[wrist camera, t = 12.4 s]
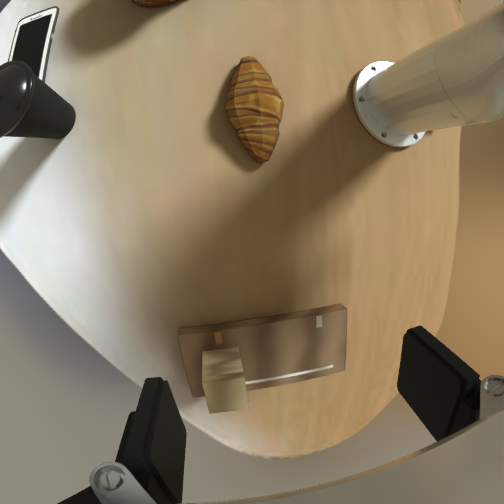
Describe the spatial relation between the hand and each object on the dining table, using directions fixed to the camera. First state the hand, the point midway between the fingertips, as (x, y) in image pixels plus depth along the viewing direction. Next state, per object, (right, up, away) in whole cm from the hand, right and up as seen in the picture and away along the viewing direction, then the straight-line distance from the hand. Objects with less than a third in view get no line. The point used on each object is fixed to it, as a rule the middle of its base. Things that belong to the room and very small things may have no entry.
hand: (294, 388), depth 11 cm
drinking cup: (-26, +22, +20) cm, 40 cm away
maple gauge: (-5, -9, +28) cm, 30 cm away
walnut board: (0, -8, +30) cm, 31 cm away
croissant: (-2, +22, +24) cm, 32 cm away
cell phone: (-33, +34, +17) cm, 50 cm away
